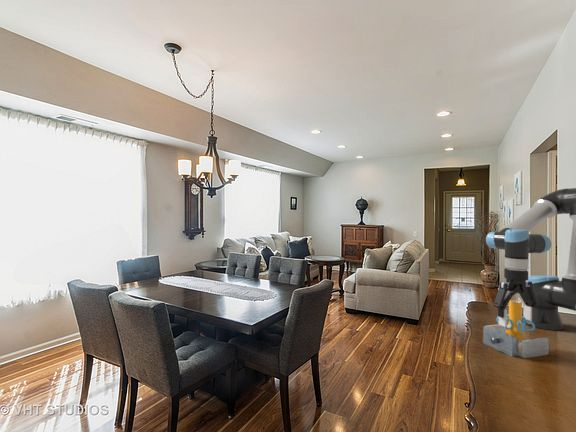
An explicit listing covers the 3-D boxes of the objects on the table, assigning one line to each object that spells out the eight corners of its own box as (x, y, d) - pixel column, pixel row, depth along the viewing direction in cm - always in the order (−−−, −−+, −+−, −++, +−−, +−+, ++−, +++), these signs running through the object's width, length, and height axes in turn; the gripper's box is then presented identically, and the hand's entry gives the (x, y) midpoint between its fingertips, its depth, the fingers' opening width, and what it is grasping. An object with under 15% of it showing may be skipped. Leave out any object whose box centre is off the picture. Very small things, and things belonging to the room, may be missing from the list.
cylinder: (540, 347, 112) (540, 307, 112) (508, 345, 114) (508, 305, 114) (521, 334, 124) (521, 297, 124) (493, 332, 126) (493, 296, 126)
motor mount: (507, 337, 128) (507, 322, 128) (548, 354, 113) (548, 337, 113) (474, 341, 124) (475, 325, 124) (513, 359, 108) (513, 341, 108)
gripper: (529, 266, 125) (528, 318, 126) (482, 268, 119) (482, 323, 119) (549, 269, 118) (548, 324, 118) (500, 272, 112) (500, 330, 112)
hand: (515, 324), depth 119 cm, fingers closed on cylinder, 12 cm apart
